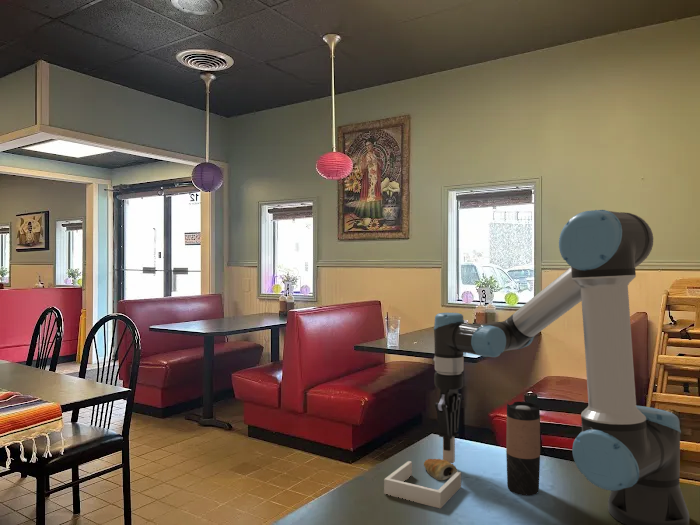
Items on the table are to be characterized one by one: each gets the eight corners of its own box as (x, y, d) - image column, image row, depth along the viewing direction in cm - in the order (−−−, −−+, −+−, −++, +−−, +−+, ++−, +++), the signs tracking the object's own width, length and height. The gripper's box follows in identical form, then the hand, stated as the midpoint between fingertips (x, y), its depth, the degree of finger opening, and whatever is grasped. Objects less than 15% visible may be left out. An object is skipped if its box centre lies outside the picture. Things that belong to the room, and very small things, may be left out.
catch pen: (461, 486, 130) (461, 472, 130) (440, 508, 119) (440, 492, 119) (408, 474, 137) (408, 461, 137) (384, 493, 126) (384, 479, 126)
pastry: (417, 469, 141) (417, 454, 141) (438, 464, 144) (438, 450, 144) (438, 482, 133) (438, 467, 133) (460, 477, 136) (460, 462, 136)
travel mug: (542, 497, 124) (542, 411, 124) (507, 494, 126) (507, 409, 125) (537, 483, 132) (537, 402, 131) (505, 481, 133) (505, 400, 133)
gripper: (444, 366, 149) (444, 451, 149) (425, 374, 138) (425, 466, 138) (471, 369, 145) (471, 456, 145) (453, 378, 134) (453, 472, 134)
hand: (448, 461), depth 142 cm, fingers closed
